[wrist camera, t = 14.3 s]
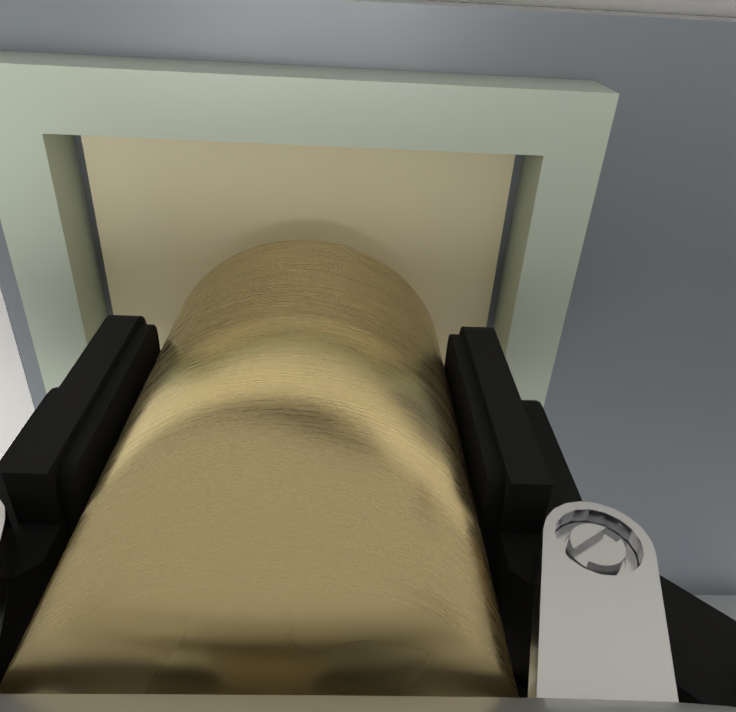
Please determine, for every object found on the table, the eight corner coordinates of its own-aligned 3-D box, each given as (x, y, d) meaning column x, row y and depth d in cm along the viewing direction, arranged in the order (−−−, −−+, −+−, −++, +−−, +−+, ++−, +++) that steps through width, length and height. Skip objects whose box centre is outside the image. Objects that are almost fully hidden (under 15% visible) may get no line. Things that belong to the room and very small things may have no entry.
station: (1061, 35, 12) (2152, 162, 5) (680, 715, 24) (821, 1040, 17) (-47, -26, 11) (-809, 14, 4) (140, 714, 23) (46, 1059, 16)
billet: (453, 244, 11) (582, 602, 5) (425, 467, 14) (486, 878, 8) (156, 233, 11) (-96, 594, 5) (186, 462, 13) (51, 881, 7)
